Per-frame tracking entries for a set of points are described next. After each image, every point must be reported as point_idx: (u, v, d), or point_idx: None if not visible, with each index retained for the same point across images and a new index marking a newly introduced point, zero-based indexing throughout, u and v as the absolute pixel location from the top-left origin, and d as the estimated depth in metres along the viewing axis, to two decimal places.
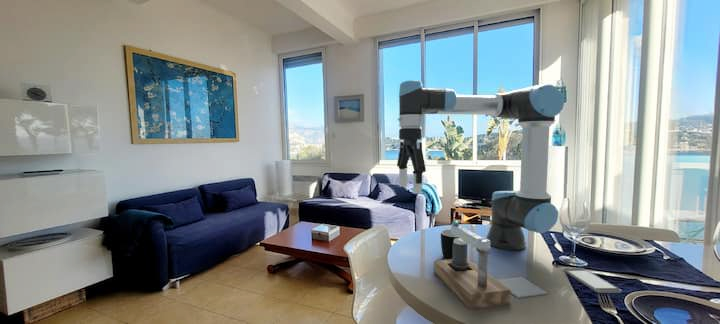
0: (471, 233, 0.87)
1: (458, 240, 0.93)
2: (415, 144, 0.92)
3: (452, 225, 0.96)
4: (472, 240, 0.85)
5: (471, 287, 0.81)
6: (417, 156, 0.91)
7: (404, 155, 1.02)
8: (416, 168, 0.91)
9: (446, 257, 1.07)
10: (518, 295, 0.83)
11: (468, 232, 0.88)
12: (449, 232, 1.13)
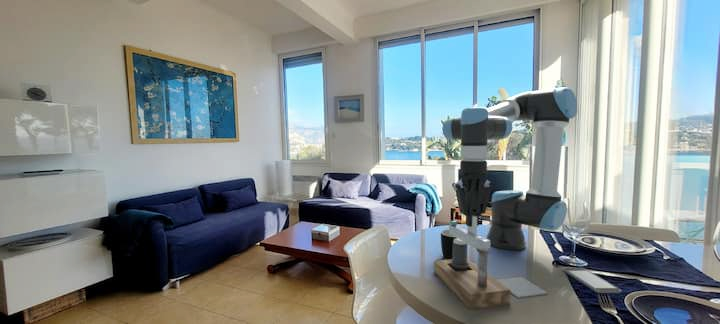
0: (470, 233, 0.87)
1: (458, 240, 0.93)
2: (453, 186, 0.87)
3: (450, 225, 0.96)
4: (472, 241, 0.85)
5: (471, 287, 0.81)
6: (457, 198, 0.88)
7: None
8: None
9: (446, 257, 1.07)
10: (518, 295, 0.83)
11: (467, 232, 0.88)
12: None
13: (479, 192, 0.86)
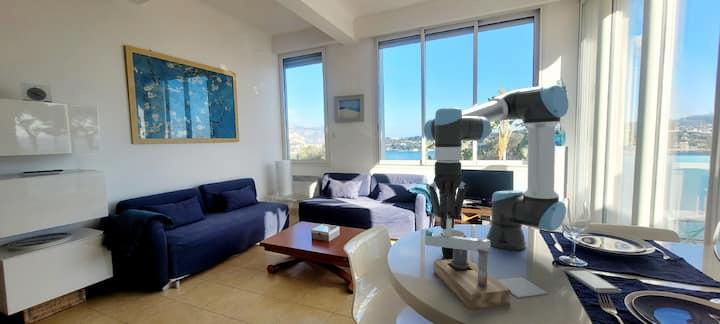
0: (460, 237, 0.83)
1: None
2: (427, 188, 0.85)
3: (427, 236, 0.85)
4: (469, 244, 0.82)
5: (471, 287, 0.81)
6: (431, 200, 0.86)
7: (448, 193, 0.87)
8: None
9: (446, 257, 1.07)
10: (518, 295, 0.83)
11: (456, 237, 0.83)
12: None
13: (453, 194, 0.85)
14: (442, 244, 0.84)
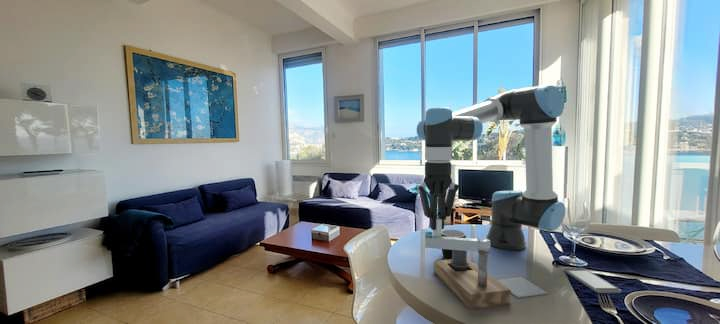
0: (460, 238, 0.83)
1: None
2: (417, 188, 0.85)
3: (427, 238, 0.84)
4: (469, 245, 0.81)
5: (471, 287, 0.81)
6: (421, 201, 0.85)
7: (438, 194, 0.86)
8: None
9: (446, 257, 1.07)
10: (518, 295, 0.83)
11: (457, 238, 0.82)
12: (449, 232, 1.13)
13: (443, 195, 0.84)
14: (442, 246, 0.83)
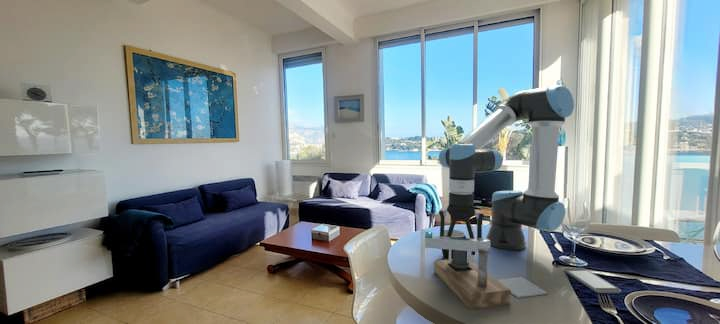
0: (460, 238, 0.83)
1: None
2: None
3: (427, 238, 0.84)
4: (469, 245, 0.81)
5: (471, 287, 0.81)
6: (481, 228, 0.90)
7: None
8: None
9: (446, 257, 1.07)
10: (518, 295, 0.83)
11: (457, 238, 0.82)
12: None
13: None
14: (442, 246, 0.83)
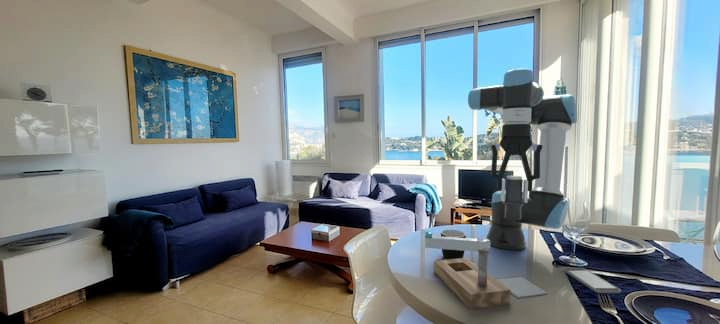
0: (460, 238, 0.83)
1: (512, 176, 0.87)
2: (541, 147, 0.83)
3: (427, 238, 0.84)
4: (469, 245, 0.81)
5: (471, 287, 0.81)
6: None
7: (509, 157, 0.86)
8: (531, 175, 0.84)
9: (446, 257, 1.07)
10: (518, 295, 0.83)
11: (457, 238, 0.82)
12: (449, 232, 1.13)
13: None
14: (442, 246, 0.83)
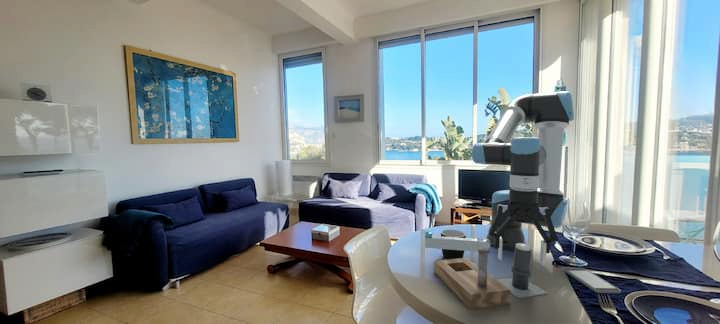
0: (460, 238, 0.83)
1: (521, 245, 0.87)
2: (549, 211, 0.83)
3: (427, 238, 0.84)
4: (469, 245, 0.81)
5: (471, 287, 0.81)
6: None
7: None
8: (548, 237, 0.84)
9: (446, 257, 1.07)
10: (518, 295, 0.83)
11: (457, 238, 0.82)
12: (449, 232, 1.13)
13: None
14: (442, 246, 0.83)
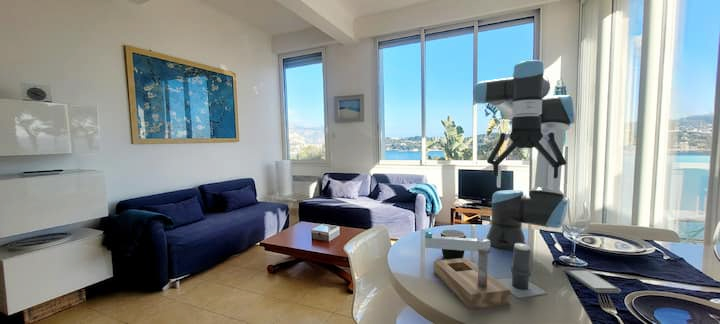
0: (460, 238, 0.83)
1: (520, 245, 0.87)
2: (553, 134, 0.82)
3: (427, 238, 0.84)
4: (469, 245, 0.81)
5: (471, 287, 0.81)
6: None
7: (513, 148, 0.85)
8: (555, 161, 0.82)
9: (446, 257, 1.07)
10: (518, 295, 0.83)
11: (457, 238, 0.82)
12: (449, 232, 1.13)
13: None
14: (442, 246, 0.83)
